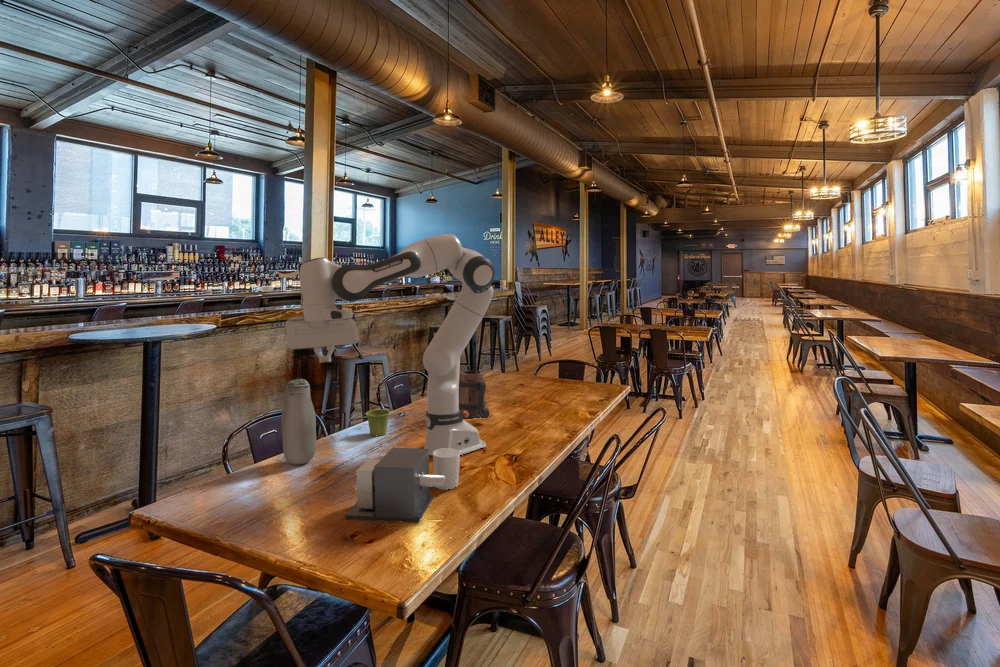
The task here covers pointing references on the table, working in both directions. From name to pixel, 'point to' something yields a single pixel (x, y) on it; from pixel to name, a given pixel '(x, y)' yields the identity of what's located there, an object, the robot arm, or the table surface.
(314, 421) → the glass bottle
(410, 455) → the bearing block
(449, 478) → the white cup
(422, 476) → the shaft
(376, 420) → the plant pot
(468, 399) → the tankard
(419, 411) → the table surface
